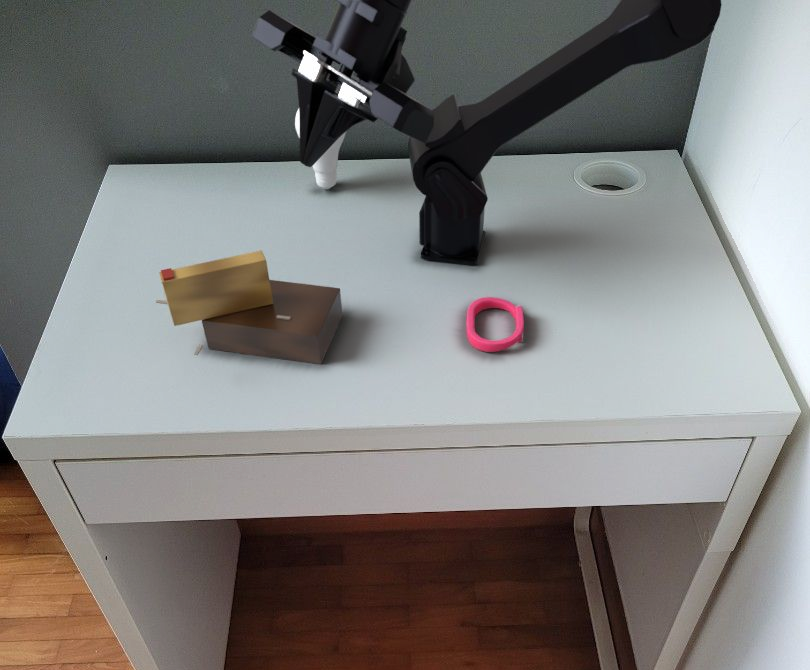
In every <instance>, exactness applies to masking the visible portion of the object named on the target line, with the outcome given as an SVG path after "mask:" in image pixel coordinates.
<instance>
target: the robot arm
mask: <svg viewBox="0 0 810 670" xmlns="http://www.w3.org/2000/svg"><path fill="white" fill-rule="evenodd" d="M335 1H336V2H337V3H338V7H337V9H336V11H335V13H334V16H333V17H332V18H333V19H332V21H331V23H330V26H329V28H328V30H327V33H326V35H325V37H323V36H322V35H319V34H316V36H314V35H313V34H311V33H310V32H308V31H306V30H305V29H303V28H302V27H300V26H298V25H296V24H295V23H293V22H291V21H289V20H288V19H286V18H285V17H282V16H280V15H279V14H278V13H275V12H274V11H272V10H270V9H269V10H267V11H266V12H264V13H263V14H262V15H260V16H259V17H258V18H257V20H256V22H255V25H254V28H253V30H252V33H251V35H250V36H251V38H252V39H253V40H255V41H256V42H259V44H262V45H263V46H264V47H266V48H268V49H269V50H271V51H273V52H277V51H278V52H281V53H282V54H284V55H286V56H288V57H289V58H291V59H292V60H294V61H295V62H297V63H299V67H298V69H294V68H292V70H291V76H293V77H294V78H295V79H296V88H297V100H298V109H299V115H300V138H299V162H300V163H301V164H302V165H303V166H305V167H308V168H311V167H312V166H313V165H314V164H315V163H316V162H317V161H318V160H319V158H320V157H321V156H322V155H323V154H324V153H325V152H326V151H327V150H328V149H329V148H330V147H331V146H332V145H333V144H334V143H335V141H337V139H338V138H339V137H340V136H342V135H343V134H344V133H345V132H346V133H347V132H348V130H350V129H351V128H353V127H354V126H355V125H358V124H360V123H363V122H365V121H368V122H371V123H375V122H376V121H378V119H379V120H380V121H382V122H384V123H385V124H386V125H389V126H390V127H391V128H393V129H394V130H396V131H398V132H400V133H402V134H404V135H406V136H409V138H408V143H407V150H408V158H409V165H410V168H411V175H412V181H413V183H414V185H415V187H416V189H417V190H418V191H419V192H420V193H421V194H422V195H424V196H425V197H424V200H423V202H422V205H421V207H420V209H419V213H418V215H419V219H418V222H419V224H418V226H419V228H418V229H419V231H418V233H419V234H418V235H419V236H418V237H419V245H420V246H422V249H421V251H420V259H422V260H428V261H435V262H442V263H443V262H445V263H453V264H461V265H462V264H463V265H471V266H474V265H477V264H478V262H479V260H480V256H481V253H482V249H483V247H484V242H485V239H486V236H487V232H486V231H485V230H484V224H485V208H486V204H487V202H488V200H489V199H488V198H489V197H488V194H487V191H486V187H485V183H484V180H483V176H482V171H483V170H484V169H485V167H486V166H487V165H488V163H489V162H490V161H491V159H492V158H493V157H494V155H495V154H496V152H497V151H498V150H499V149H500V148H501V147H503V146H504V145H506V144H507V143H509V142H510V141H512V140H514V139H516V138H517V137H518V136H520V135H522V134H523V133H525V132H526V131H528V130H530V129H532V128H533V127H534V126H536V125H538V124H539V123H541V122H542V121H544V120H545V119H547V118H549V117H551V116H552V115H553V114H555V113H557V112H558V111H560V110H561V109H563V108H565V107H566V106H567V105H569V104H571V103H572V102H574V101H576V100H578V99H579V98H581V97H582V96H584V95H585V94H587V93H588V92H590V91H592V90H593V89H595V88H597V87H598V86H600V85H602V84H603V83H604V82H606V81H607V80H609V79H610V78H612V77H614V76H616V75H617V74H619V73H621V72H622V71H623V70H625V69H627V68H629V67H632V66H635V65H642V64H647V63H654V62H658V61H664V60H668V59H670V58H671V57H674V56H676V55H679V54H681V53H683V52H686V51H689V50H691V49H693V48H695V47H697V46H698V45H700V44H702V43H703V42H704V41H705V40H707V39H708V38H709V37H710V36H711V34H713V32H714V30H715V27H716V24H717V23H718V20H719V18H720V16H721V10H722V0H620V1H619V2H618V4H617V5H616V6H615V8H614V9H613V11H612V12H611V13H610V14H609V16H608V17H607V18H605V19H604V20H603V21H602V22H600V23H598V24H597V25H595V26H593V27H592V28H591V29H588V31H586V32H585V33H583V34H581V35H580V36H579V37H577V38H575V39H573V40H572V41H571V42H570V43H568V44H566V45H564V46H563V47H561V48H560V49H558V50H557V51H555V52H554V53H553V54H551V55H550V56H548V57H546V58H545V59H543V60H542V61H540V62H539V63H537V64H536V65H534V66H533V67H531V68H530V69H528V70H527V71H525V72H523V73H522V74H520V75H519V76H518V77H516V78H514V79H513V80H511V81H510V82H508V83H506V84H505V85H504V86H502V87H501V88H499V89H497V90H496V91H494V92H493V93H491V94H490V95H488V96H487V97H485V98H484V99H482V100H481V101H479V102H475V103H470V104H465V105H459V104H458V101H457V97H456V96H455V95H454V94H451V95H449V96H448V97H446V98H445V99H443V101H442V102H440V104H439V105H437V106H436V107H435V108H433V109H431V108H430V107H428V106H427V105H425V104H423V103H421V102H420V101H419V100H417V99H415V98H414V97H412V96H410V95H409V94H408V93H407V92H408V91H409V90H410V88H411V87H412V86H413V84H414V83H415V82H416V81H415V80H416V79H415V77H414V74H413V72H412V70H411V67H410V65H409V63H408V60H407V59H406V57H405V56H404V54H403V53H402V52H403V51H402V50H403V46H404V45H405V42H406V40H407V34H408V30H406V29H405V28H403V27H402V25H403V23H404V21H405V19H406V18H407V15H408V12H409V10H410V8H411V6H412V3H413V2H414V0H335ZM333 62H334V63H336V64H338V65H339V66H340V67H339V68H337V67H336V66H334V65H333ZM352 76H355V77H356V78H358V80H356V79H355V78H353V77H352ZM339 86H340V88H339V91H337V89H338V87H339ZM312 168H313V167H312Z"/></svg>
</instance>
